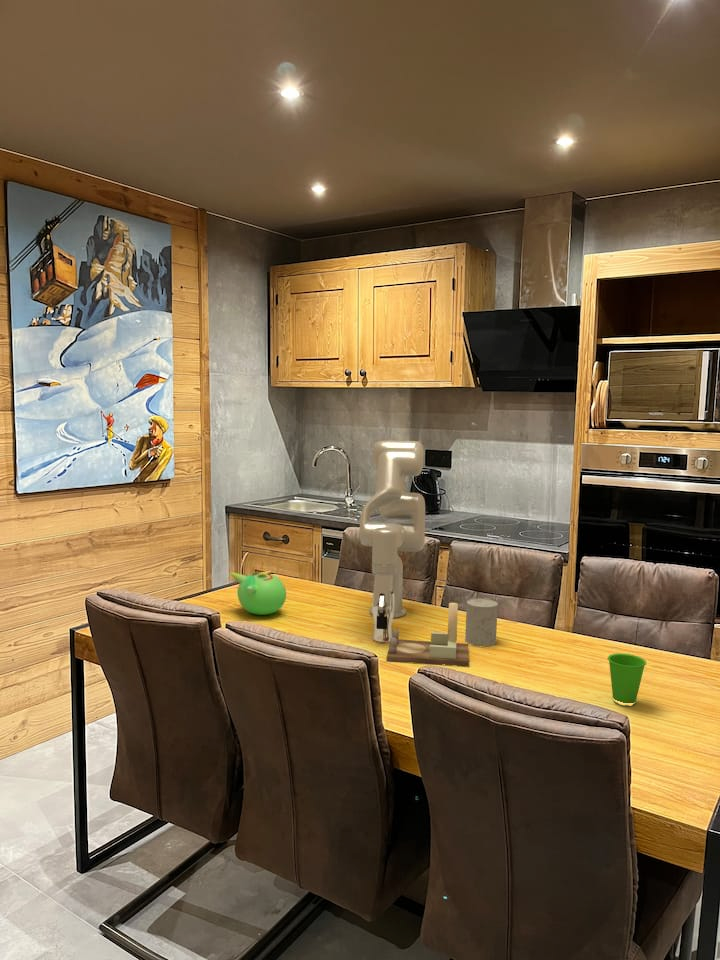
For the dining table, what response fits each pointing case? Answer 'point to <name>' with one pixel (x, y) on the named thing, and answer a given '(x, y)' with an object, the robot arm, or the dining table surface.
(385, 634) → the beer glass
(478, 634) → the grey stone cylinder
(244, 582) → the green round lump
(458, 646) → the board
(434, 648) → the grey angular piece
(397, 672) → the dining table surface
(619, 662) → the cup
